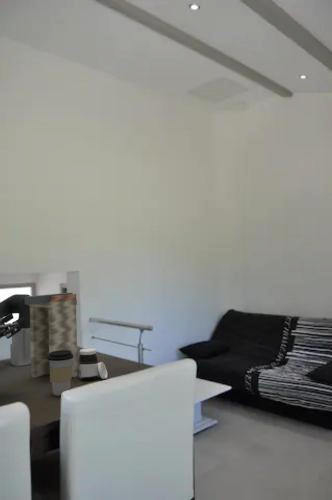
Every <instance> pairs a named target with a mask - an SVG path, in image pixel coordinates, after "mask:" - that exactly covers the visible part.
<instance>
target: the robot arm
mask: <svg viewBox="0 0 332 500" xmlns="http://www.w3.org/2000/svg"><path fill="white" fill-rule="evenodd" d="M27 296H31V295H30V294H28V293H27V294H26V293H25V294H24V293H23V294H22V293H21V294H19V293H18V294H17V293H16V294H12V295H10V296H8V297H7V298H5V299H4V300H2V301H0V339H1V338H3V337H5V338H6V339H7V340H8V339H9V340H10V339H11V343H10V349H9V350H10V365H12V366H17V367H19V366H20V367H22V366H23V367H24V366H27V365H31V335H30V306H29V305H26V304H25V297H27ZM13 314H18V318H17V320H15V321H12V323H11V322H10V321H11V320H13V319H14V315H13ZM8 322H9V323H8Z"/></svg>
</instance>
